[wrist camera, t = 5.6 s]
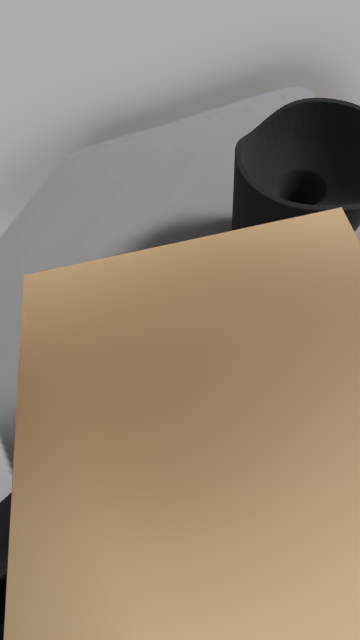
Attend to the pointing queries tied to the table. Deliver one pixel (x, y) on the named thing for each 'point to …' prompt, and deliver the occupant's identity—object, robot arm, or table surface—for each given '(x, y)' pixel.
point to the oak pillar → (191, 441)
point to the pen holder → (299, 164)
